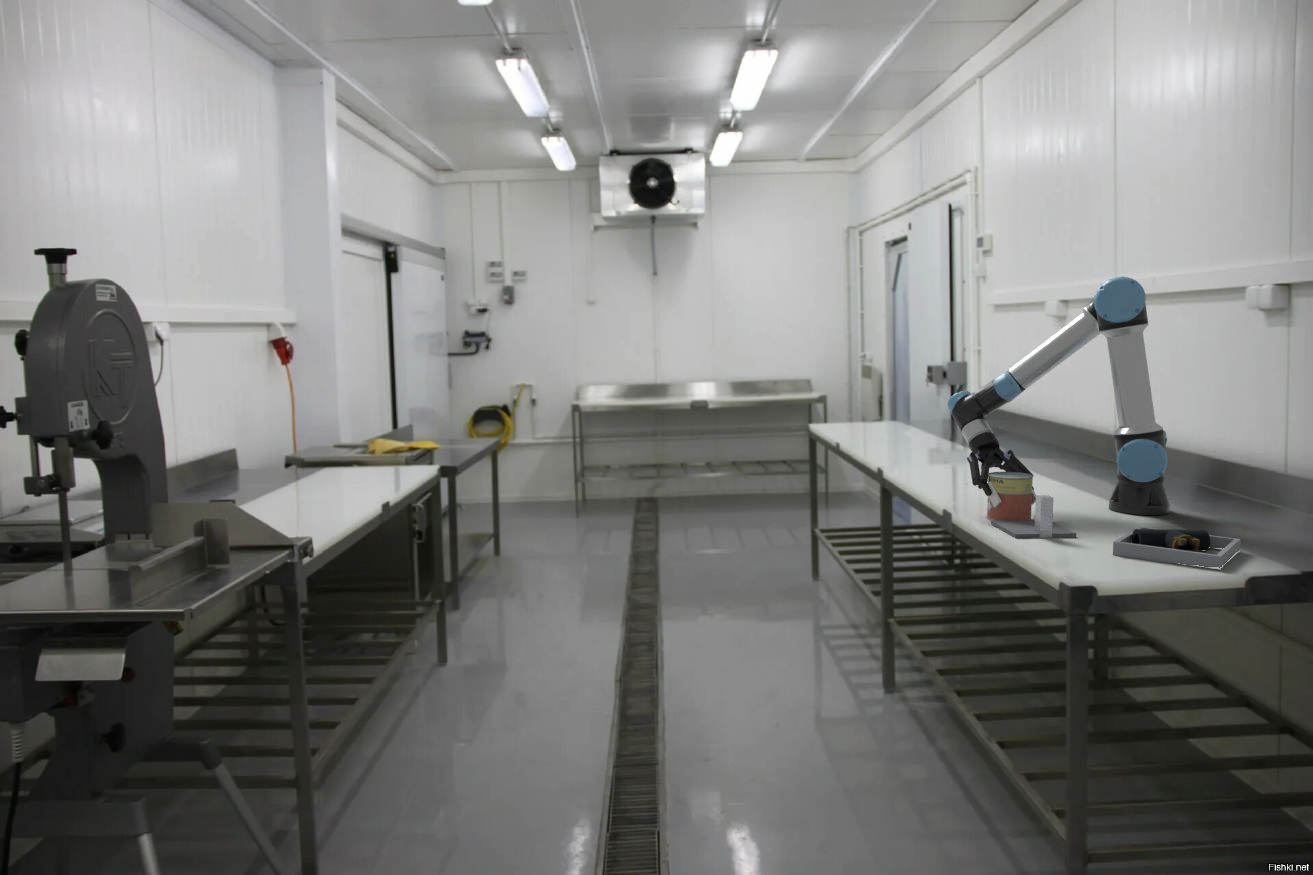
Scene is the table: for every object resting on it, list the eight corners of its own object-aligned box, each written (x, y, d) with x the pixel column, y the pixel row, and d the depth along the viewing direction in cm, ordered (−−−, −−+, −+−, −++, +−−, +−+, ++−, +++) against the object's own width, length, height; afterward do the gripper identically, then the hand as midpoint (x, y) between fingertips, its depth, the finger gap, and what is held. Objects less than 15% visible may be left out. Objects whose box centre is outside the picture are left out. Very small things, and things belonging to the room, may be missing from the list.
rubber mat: (990, 524, 238) (990, 520, 238) (1047, 523, 238) (1047, 519, 238) (1015, 538, 222) (1015, 534, 222) (1076, 537, 222) (1076, 533, 222)
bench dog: (1034, 535, 225) (1036, 495, 224) (1046, 534, 225) (1048, 495, 224) (1039, 537, 222) (1041, 497, 221) (1051, 537, 222) (1053, 497, 221)
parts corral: (1239, 551, 206) (1240, 538, 206) (1220, 570, 191) (1220, 556, 190) (1138, 538, 220) (1139, 526, 220) (1112, 554, 205) (1113, 541, 204)
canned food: (980, 514, 250) (982, 471, 249) (1022, 514, 250) (1023, 471, 249) (994, 523, 239) (996, 478, 238) (1038, 522, 239) (1039, 478, 238)
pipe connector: (1226, 537, 199) (1154, 536, 200) (1224, 560, 199) (1153, 560, 201) (1199, 527, 210) (1132, 526, 211) (1198, 549, 211) (1131, 548, 212)
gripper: (1008, 445, 261) (1045, 508, 248) (939, 449, 254) (972, 514, 241) (1022, 429, 255) (1059, 492, 242) (951, 432, 248) (986, 497, 235)
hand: (1016, 503), depth 241 cm, fingers closed on canned food, 11 cm apart
